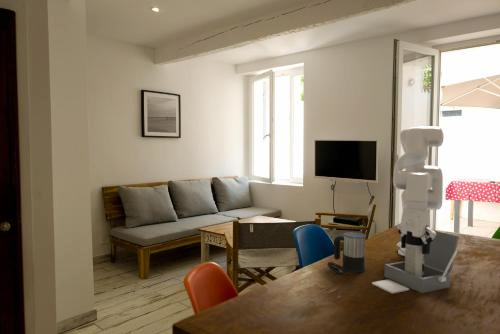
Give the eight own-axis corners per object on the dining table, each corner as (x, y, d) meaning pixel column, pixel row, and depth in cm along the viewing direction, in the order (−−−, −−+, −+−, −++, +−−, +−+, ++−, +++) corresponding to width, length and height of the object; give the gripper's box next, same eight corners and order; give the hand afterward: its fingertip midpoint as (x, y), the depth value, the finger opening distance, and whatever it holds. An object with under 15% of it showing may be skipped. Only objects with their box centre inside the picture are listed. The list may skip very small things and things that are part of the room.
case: (384, 276, 148) (385, 230, 147) (417, 270, 156) (418, 226, 155) (425, 294, 131) (427, 241, 130) (460, 286, 138) (462, 236, 137)
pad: (371, 284, 141) (371, 282, 141) (388, 280, 144) (388, 279, 144) (392, 293, 132) (392, 291, 132) (408, 290, 135) (408, 288, 135)
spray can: (425, 286, 139) (427, 232, 138) (406, 284, 140) (407, 231, 139) (421, 279, 145) (422, 228, 144) (402, 278, 147) (404, 227, 146)
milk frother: (367, 267, 160) (367, 233, 159) (361, 279, 145) (362, 241, 145) (333, 263, 166) (334, 229, 165) (324, 274, 151) (325, 237, 151)
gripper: (391, 203, 147) (390, 246, 148) (428, 209, 132) (427, 257, 132) (405, 202, 150) (404, 244, 151) (443, 208, 135) (442, 255, 135)
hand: (414, 250), depth 142 cm, fingers open, 9 cm apart
